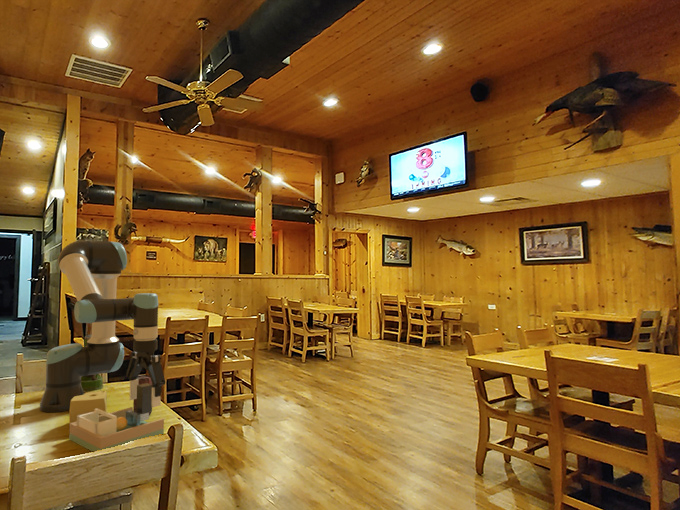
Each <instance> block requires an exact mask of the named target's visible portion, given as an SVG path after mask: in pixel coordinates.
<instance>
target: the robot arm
mask: <svg viewBox="0 0 680 510" xmlns="http://www.w3.org/2000/svg"><path fill="white" fill-rule="evenodd" d="M57 263H58V268H59V270H60V271H61V273H63V274H64V275H65V276H66V278H67V280H68V282H69V285H70V287H71V289H72V291H73V294H74V296H75V299H76V302H75V304H74V308H73V309H74V312H73V313H74V319H75V321H76V322H77V323H79V324H87V323H88V324H91V334H92V337H91V338H90V339H89V340H88V341H87V346H85V347H84V346H83V345H82V343H79V342H78V343H77V342H76V343H69V344H63V345H58V346H55V347H53V348H51V349H49V350H48V352H47V353H46V361H45V365H46V366H45V368H46V370H45V373H46V374H45V388H44V392H43V394H42V397H41V400H40V403H39V411H41V412H44V413H62V412H66V411H67V412H69V411H70V402H71V399H72V398H73V397H75V396H80V395H83V394H85V392H84V391H83V388H82V386H81V377H82V376H88V375H95V374H99V375H101V374H108V373H111V372H112V373H113V372H117V371H118V370H119V369H120V368H121V366H122V365H123V362H124V357H125V349H124V348H125V347H124V345H123V343H122V342H120V338H119V337H117V336H116V322H117V321H129V320H133V330H132V333H133V339H134V340H133V342H132V343H133V344H132V347H133V348H132V350H133V351H131V353H130V359H129V363H128V366H127V370H126V374H125V378H127V379H128V380H129V401H134V399H137V385H138V382H139V379H138V376H140V373H141V371H142V369H143V368H144V369H145V371H147V373H148V376H150V378H151V381H152V408H155V407H156V408H157V407H159V406H161V403H162V401H161V396H162V386H164V385H166V379H165V374H164V371H163V367H162V363H161V355H160V354H157V355H155V351H157V350H158V339H157V338H158V336H159V335H158V333H159V331H158V329H159V328H158V327H159V325H158V324H159V322H158V321H159V319H158V318H159V298H158V297H159V296H158V294H157V293H154V292H153V293H152V292H151V293H150V292H145V293H143V292H142V293H136V294H134V296H133V297H127V298H117V290H118V289H117V288H118V287H117V284H118V283H117V282H118V278H119V277H120V275H122V271H123V270H125V269H126V268H127V265H128V256H127V251H126V249H125V247H124V245H123V244H122V243H121V242H118V241H117V242H116V241H110V240H109V241H108V240H105V241H104V240H103V241H101V240H84V239H83V240H82V239H81V240H76V241H73V242H70V243H68V245H66V246H65V247H64V248H62V249H61V251H60V252H59V255H58V258H57Z"/></svg>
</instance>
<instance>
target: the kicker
mask: <svg viewBox="0 0 680 510" xmlns="http://www.w3.org/2000/svg"><path fill="white" fill-rule="evenodd" d="M152 386H153V384H152V385H151V384H148V383H145V384H141V385H137V410H136V412H137V413H136V412H133V411H130V410H128V411H126V419H127V424H129V425H131V426H134V427H136V426H139V425H140V422H141V421H147V420H149V419H150V416H149V412H151V413H152V412H153V407H152Z"/></svg>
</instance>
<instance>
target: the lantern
mask: <svg viewBox="0 0 680 510" xmlns="http://www.w3.org/2000/svg"><path fill="white" fill-rule="evenodd" d="M85 324H86V325H85V336H84V341H83V345H82V347H85V346H87V341H88V340H89V339H90V338H91V337H92V329H89V334H88V324H89V323H85ZM87 334H88V335H87ZM81 386H82V388H83V391H84V393H88V392H96V391H99V390H102V389H103V388H104V379H103V376H101V374H95V375H88V376H82V377H81Z"/></svg>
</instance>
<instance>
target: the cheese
mask: <svg viewBox="0 0 680 510" xmlns="http://www.w3.org/2000/svg"><path fill="white" fill-rule="evenodd" d="M107 394H108V393H107V391H106V390H100V391H99V390H96V391H89V392H84V394H83V395H80V396H75V397H73V398H72V399H71V402H70V410H68V412H69V415H68V416H69V418H68V419H69V424H70V423H73V422H77V416H78V415H82V414H86V413H90V412H94V411H95V409H96V408H98V409H100V410H103V411H105V412H107V409H108V408H107V407H108V405H107V398H108V397H107ZM100 415H102V414H99V416H100Z"/></svg>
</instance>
